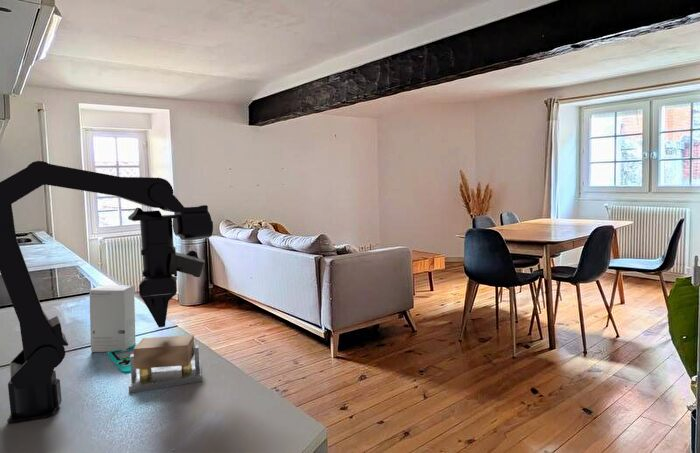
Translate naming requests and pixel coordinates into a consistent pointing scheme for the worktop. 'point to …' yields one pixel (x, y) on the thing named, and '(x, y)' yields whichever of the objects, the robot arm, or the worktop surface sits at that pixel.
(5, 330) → the worktop surface
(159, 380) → the chassis
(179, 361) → the tan block
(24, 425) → the worktop surface
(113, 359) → the handheld gaming console
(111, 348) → the skincare box
